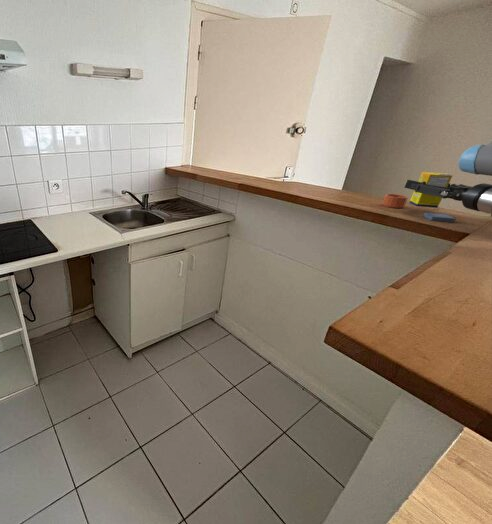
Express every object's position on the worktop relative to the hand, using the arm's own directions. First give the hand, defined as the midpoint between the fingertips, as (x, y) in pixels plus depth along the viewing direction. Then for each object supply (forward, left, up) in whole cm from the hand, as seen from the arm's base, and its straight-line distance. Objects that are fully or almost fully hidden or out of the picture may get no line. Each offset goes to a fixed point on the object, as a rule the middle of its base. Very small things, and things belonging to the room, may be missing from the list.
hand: (418, 183), depth 100 cm
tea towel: (-4, +12, -9) cm, 16 cm away
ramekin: (+4, -2, -9) cm, 10 cm away
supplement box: (-2, +5, -7) cm, 8 cm away
